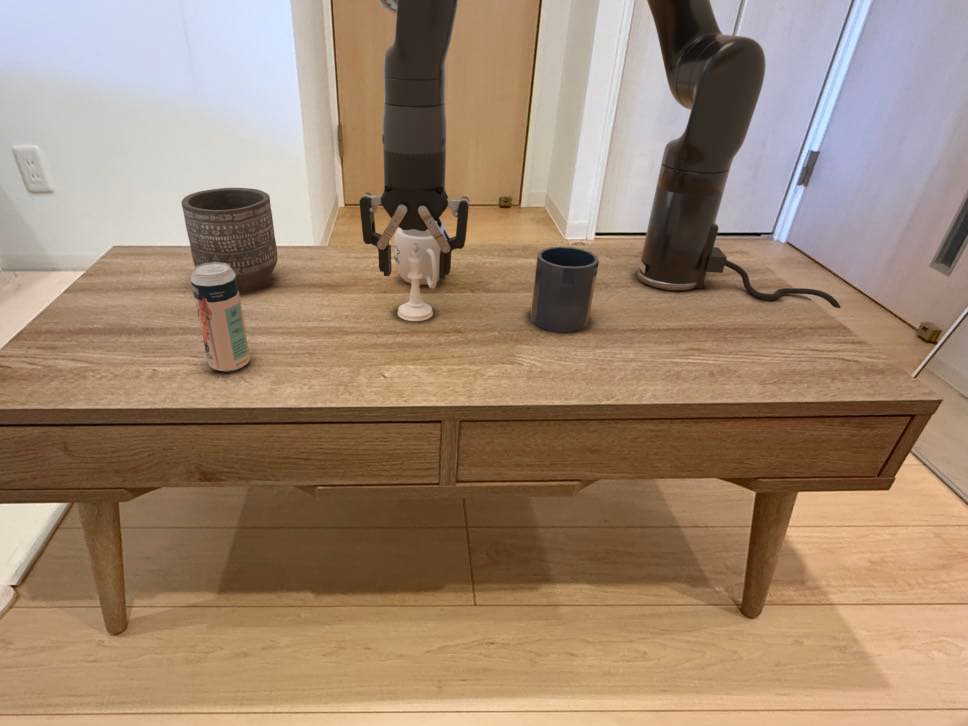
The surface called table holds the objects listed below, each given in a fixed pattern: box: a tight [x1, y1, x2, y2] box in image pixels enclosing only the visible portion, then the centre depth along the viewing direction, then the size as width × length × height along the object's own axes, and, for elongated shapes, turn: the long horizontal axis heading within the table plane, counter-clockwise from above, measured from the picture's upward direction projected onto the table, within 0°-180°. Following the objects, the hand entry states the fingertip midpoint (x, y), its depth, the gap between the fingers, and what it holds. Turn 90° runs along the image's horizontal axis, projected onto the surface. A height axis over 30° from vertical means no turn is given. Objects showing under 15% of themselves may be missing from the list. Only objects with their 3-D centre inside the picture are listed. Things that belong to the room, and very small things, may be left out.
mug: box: [393, 227, 441, 290], centre depth 92 cm, size 12×8×8 cm
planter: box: [181, 187, 279, 294], centre depth 90 cm, size 12×12×13 cm
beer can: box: [189, 262, 251, 373], centre depth 70 cm, size 5×5×12 cm
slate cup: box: [530, 246, 600, 333], centre depth 82 cm, size 8×8×9 cm
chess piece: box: [397, 243, 434, 322], centre depth 83 cm, size 5×5×10 cm
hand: (414, 275), depth 82 cm, fingers open, 7 cm apart
